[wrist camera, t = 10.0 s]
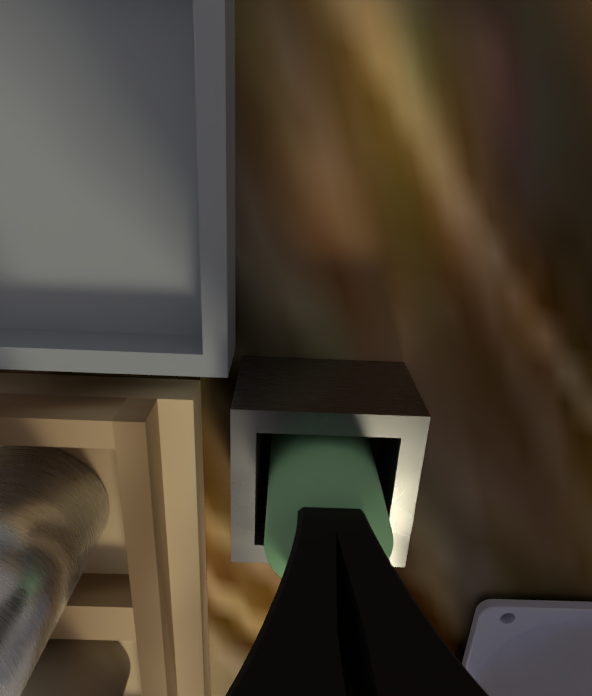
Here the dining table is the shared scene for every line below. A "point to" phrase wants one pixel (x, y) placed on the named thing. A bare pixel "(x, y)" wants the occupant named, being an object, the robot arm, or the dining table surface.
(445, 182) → the dining table surface
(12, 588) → the cylinder
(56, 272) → the tray
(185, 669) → the light brown divided box
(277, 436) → the button
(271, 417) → the switch box
